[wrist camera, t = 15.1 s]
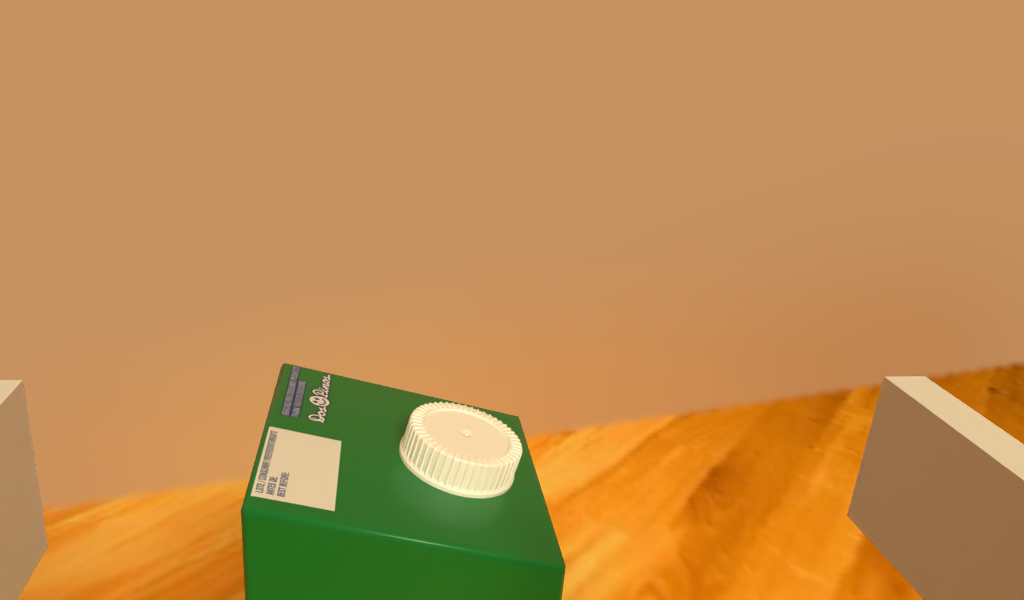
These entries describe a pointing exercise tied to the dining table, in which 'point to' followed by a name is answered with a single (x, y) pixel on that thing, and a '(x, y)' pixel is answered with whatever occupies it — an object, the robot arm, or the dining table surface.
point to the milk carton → (393, 499)
